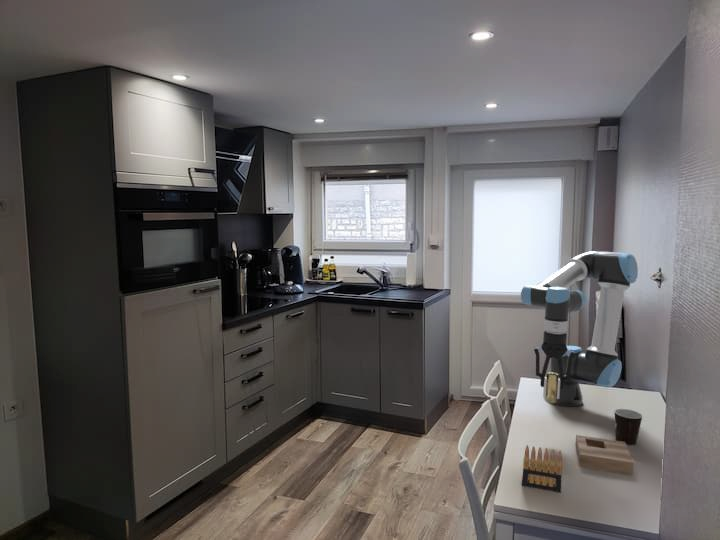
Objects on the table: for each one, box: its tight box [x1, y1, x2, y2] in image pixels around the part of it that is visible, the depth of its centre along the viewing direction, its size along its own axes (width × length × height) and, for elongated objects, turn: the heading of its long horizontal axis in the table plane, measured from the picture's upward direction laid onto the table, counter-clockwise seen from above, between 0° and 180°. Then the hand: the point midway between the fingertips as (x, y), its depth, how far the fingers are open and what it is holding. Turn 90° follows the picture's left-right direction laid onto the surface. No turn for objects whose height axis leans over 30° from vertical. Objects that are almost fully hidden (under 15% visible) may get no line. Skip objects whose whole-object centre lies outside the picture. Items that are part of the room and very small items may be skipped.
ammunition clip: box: [521, 444, 563, 494], centre depth 146 cm, size 11×2×12 cm, turn 71°
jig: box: [574, 434, 634, 476], centre depth 164 cm, size 15×15×4 cm
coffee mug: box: [614, 408, 643, 446], centre depth 177 cm, size 12×9×10 cm
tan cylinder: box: [544, 371, 558, 404], centre depth 180 cm, size 4×4×10 cm
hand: (551, 396), depth 180 cm, fingers closed on tan cylinder, 4 cm apart
